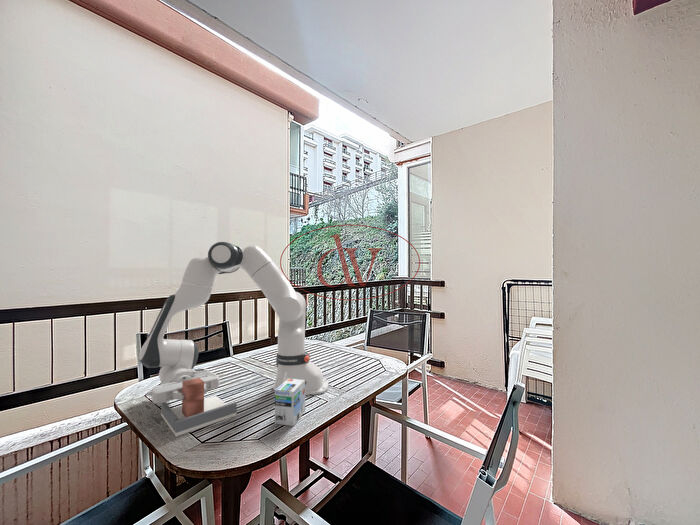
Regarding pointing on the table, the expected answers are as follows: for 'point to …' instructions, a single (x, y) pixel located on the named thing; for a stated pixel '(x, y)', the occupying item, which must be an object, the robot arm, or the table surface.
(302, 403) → the light bulb box
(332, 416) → the table surface
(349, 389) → the table surface
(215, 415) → the tray
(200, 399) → the brick-red block
